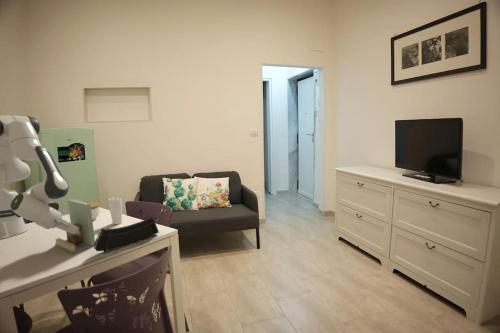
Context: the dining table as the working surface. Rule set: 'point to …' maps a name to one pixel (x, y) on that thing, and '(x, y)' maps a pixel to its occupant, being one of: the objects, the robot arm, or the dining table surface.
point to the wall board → (82, 216)
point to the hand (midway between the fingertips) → (75, 232)
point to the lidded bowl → (95, 210)
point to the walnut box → (75, 236)
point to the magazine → (125, 235)
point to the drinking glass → (116, 210)
